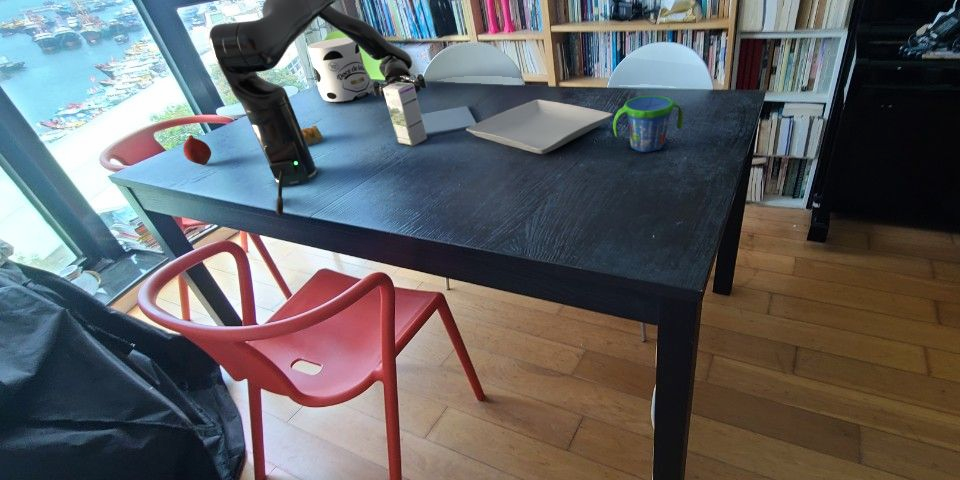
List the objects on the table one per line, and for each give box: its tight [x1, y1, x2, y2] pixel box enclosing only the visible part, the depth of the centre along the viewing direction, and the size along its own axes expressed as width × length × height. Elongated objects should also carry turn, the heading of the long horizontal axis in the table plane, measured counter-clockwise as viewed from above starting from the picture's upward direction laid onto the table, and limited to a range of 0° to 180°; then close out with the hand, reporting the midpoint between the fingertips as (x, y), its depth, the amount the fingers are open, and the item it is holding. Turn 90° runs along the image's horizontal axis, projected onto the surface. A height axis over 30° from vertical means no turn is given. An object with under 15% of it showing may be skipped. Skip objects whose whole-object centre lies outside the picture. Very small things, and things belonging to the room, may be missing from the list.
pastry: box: [301, 125, 324, 146], centre depth 132 cm, size 9×7×4 cm
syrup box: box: [383, 82, 428, 147], centre depth 123 cm, size 6×6×14 cm
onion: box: [182, 134, 212, 166], centre depth 124 cm, size 6×6×8 cm
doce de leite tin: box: [307, 37, 374, 105], centre depth 159 cm, size 17×17×18 cm
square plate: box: [465, 99, 614, 155], centre depth 122 cm, size 27×27×4 cm
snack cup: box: [612, 94, 684, 153], centre depth 108 cm, size 16×10×10 cm
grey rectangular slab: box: [421, 105, 478, 137], centre depth 137 cm, size 18×14×1 cm
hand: (400, 91), depth 129 cm, fingers open, 8 cm apart
